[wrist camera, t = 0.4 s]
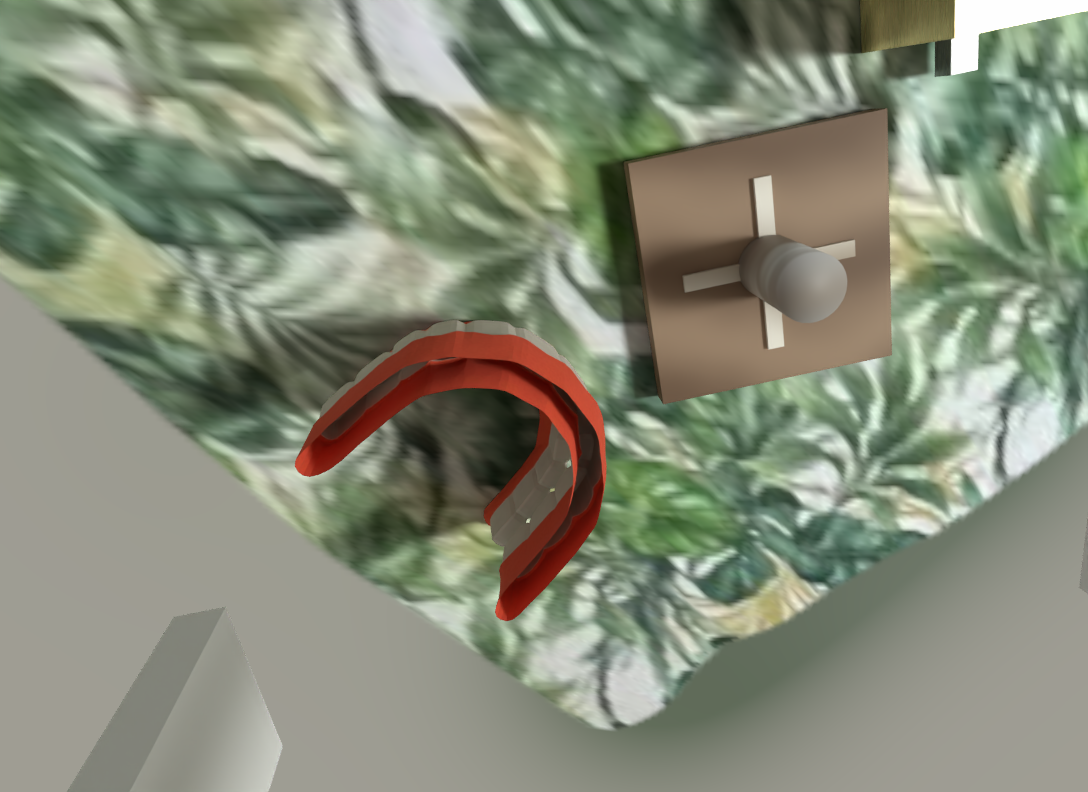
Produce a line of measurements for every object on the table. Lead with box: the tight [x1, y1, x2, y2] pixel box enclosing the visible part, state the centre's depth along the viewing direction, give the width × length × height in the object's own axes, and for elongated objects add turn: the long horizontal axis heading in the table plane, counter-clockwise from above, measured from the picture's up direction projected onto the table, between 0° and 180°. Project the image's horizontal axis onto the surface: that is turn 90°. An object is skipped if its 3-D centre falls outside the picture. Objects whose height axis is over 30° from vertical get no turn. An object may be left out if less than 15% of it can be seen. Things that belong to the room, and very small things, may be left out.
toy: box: [295, 320, 606, 621], centre depth 34 cm, size 12×10×8 cm
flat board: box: [623, 109, 892, 404], centre depth 33 cm, size 12×12×6 cm
